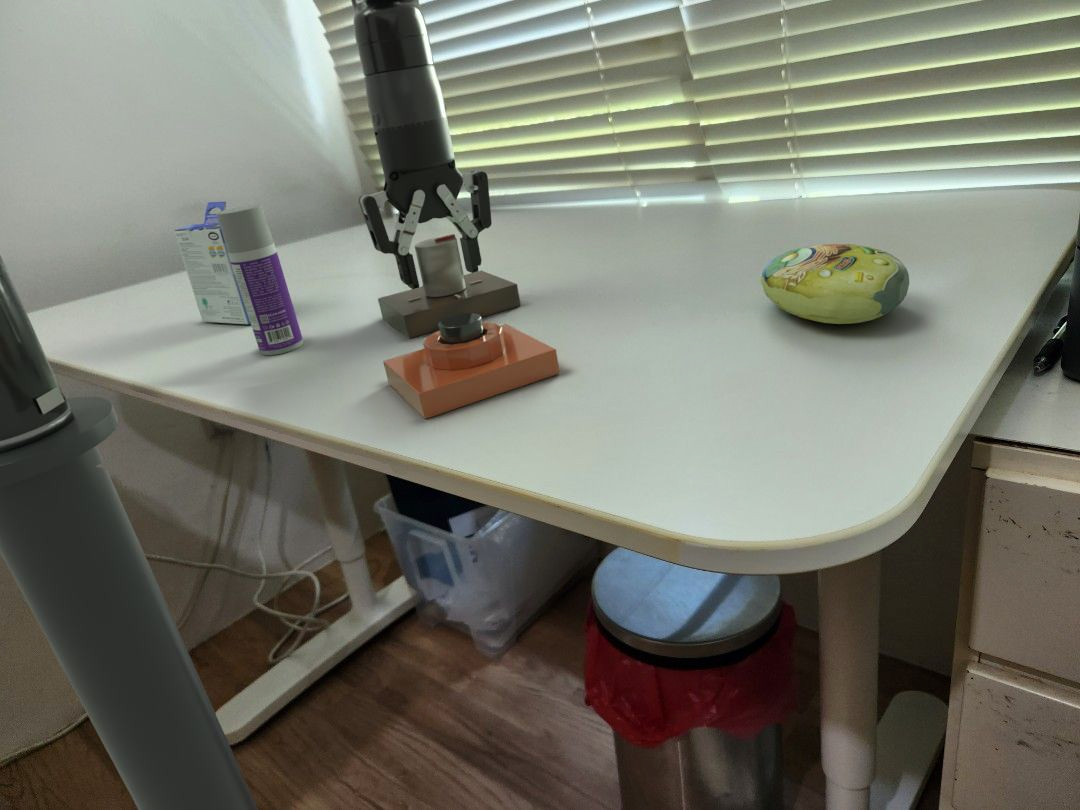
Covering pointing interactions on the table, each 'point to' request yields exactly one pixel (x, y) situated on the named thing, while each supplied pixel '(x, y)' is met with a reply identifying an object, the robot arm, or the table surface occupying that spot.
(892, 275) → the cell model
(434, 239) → the dial
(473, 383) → the button housing
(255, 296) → the container
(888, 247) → the table surface
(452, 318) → the button
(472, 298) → the dial panel
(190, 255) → the ink cartridge box
